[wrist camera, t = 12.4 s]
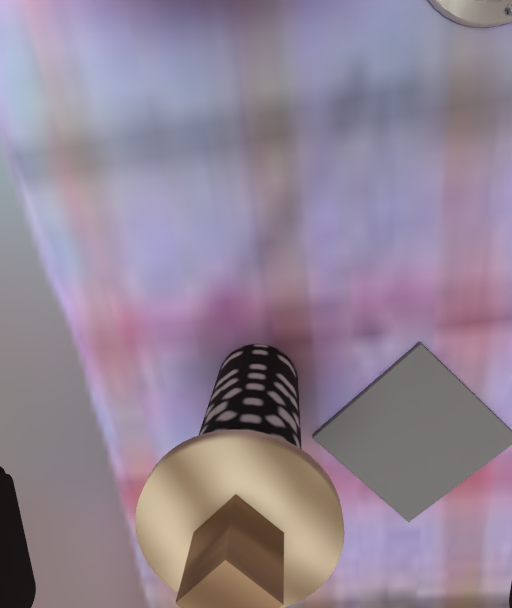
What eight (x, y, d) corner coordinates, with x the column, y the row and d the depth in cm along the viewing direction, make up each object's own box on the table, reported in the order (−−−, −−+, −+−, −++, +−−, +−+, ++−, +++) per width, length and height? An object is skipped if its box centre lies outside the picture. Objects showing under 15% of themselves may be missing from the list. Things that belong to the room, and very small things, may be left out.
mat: (419, 341, 47) (421, 344, 47) (516, 435, 50) (519, 439, 49) (312, 434, 51) (312, 438, 51) (407, 518, 54) (408, 522, 53)
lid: (231, 389, 28) (216, 449, 22) (385, 519, 30) (409, 606, 24) (101, 517, 31) (58, 600, 25) (247, 628, 33) (239, 728, 27)
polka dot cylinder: (302, 348, 48) (311, 469, 29) (293, 420, 51) (297, 576, 32) (220, 340, 49) (178, 455, 30) (216, 412, 51) (174, 561, 32)
